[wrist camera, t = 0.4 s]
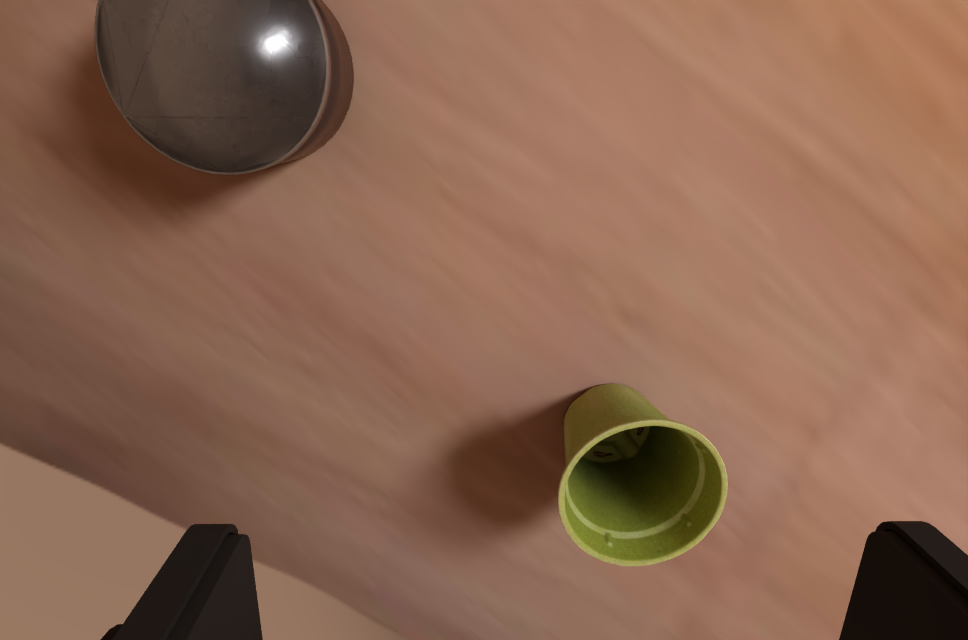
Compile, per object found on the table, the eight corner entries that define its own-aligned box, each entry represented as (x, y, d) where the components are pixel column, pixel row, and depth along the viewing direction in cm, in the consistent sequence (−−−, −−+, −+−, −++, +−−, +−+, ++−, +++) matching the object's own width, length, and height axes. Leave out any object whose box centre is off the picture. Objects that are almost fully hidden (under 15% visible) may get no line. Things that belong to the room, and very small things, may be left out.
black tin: (180, -59, 31) (102, -109, 24) (372, 0, 32) (348, -33, 25) (161, 137, 34) (87, 141, 27) (336, 185, 35) (307, 199, 28)
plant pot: (544, 356, 39) (566, 419, 31) (684, 360, 39) (742, 423, 31) (534, 478, 42) (551, 565, 34) (664, 481, 42) (712, 567, 34)
